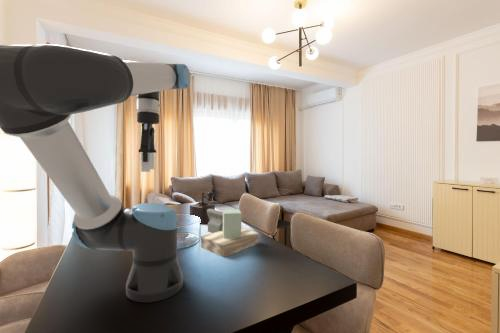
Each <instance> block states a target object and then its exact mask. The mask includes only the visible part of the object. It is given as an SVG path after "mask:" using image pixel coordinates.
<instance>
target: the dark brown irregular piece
mask: <svg viewBox="0 0 500 333" xmlns="http://www.w3.org/2000/svg"><path fill="white" fill-rule="evenodd" d="M200 196H201V201H199V202H197V203H195V204H191V205H189V216H190V215H195V216H198V217H200V219H201V224H200V225H208V222H209V217H208V214H207V210H208V209H214V210H216V208H215V207H216V205H215V204H213V203H212V204H211V203H208V202H212V201H213V198H214V196H215V193H214V192H213V191H208V192H207V193H206V195H205V192H204V191H203V192H201V195H200ZM204 198H205V199H206V201H208V202H206V201H204Z"/></svg>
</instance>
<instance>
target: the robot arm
mask: <svg viewBox="0 0 500 333" xmlns="http://www.w3.org/2000/svg"><path fill="white" fill-rule="evenodd" d="M189 69H190V68H189V67H188V66H187V65H186V64H185V63H161V62H160V63H159V62H148V61H135V60H127V59H125V60H124V59H122V58H120V57H119V56H117V55H116V54H111V53H104V52H100V51H93V50H87V49H83V48H79V47H71V46H67V45H60V44H51V43H42V44H41V43H40V44H0V129H1V131H2V132H3V133H4V134H6V135H9V136H13V137H17V138H19V139H21V141H22V143H23V144H24V145H25V146H26V148H27V149H28V151H29V152H30V153H31V154H32V156H33V157H34V159H35V160H36V161H37V163H38V164H39V165H40V167H41V168H42V169H43V171H44V172H45V173H46V175H47V177H48V178H49V179H50V180H51V182H52V183H53V184H54V186H55V187H56V189H57V190H58V192H59V193H60V194H61V195H62V197H63V198H64V199H65V201H66V202H67V203H68V204H69V207H70V208H71V209H72V210H73V211H74V215H73V220H72V225H71V229H73V231H72V232H71V234H72V237H73V239H74V241H75V242H76V243H77V245H79V246H81V247H82V248H84V249H89V250H94V251H102V250H103V251H123V252H132V265H131V268H130V271H129V274H128V276H127V280H126V283H125V296H126V297H127V299H129V300H131V301H133V302H136V303H153V302H154V303H155V302H159V301H163V300H166V299H169V298H171V297H173V296H174V295H176V294H178V293H179V292H180V291H181V290H182V288H183V285H184V275H183V272H182V269H181V266H180V263H179V260H178V226H179V224H178V223H179V222H178V214H177V211H176V210H175V208H173V206H169V205H167V204H162V203H157V202H156V203H154V202H153V203H152V202H151V203H150V202H143V203H138V204H135V205H133V206H132V208H131V207H129V208H126V207H124V205H123V203H122V201H121V199H120V198H119V197H117V196H116V195H112V194H110V193H109V190H108V189H107V187H106V185H105V184H104V182H103V180H102V178H101V176H100V175H99V173H98V171H97V170H96V168H95V166H94V165H93V162H92V161H91V159H90V157H89V156H88V154H87V152H86V150H85V149H84V146H83V145H82V143H81V141H80V139H79V138H78V135H77V134H76V132H75V131H74V128H73V127H72V126H71V124H70V122H69V121H70V118H71V117H72V115H74V114H79V113H80V114H81V113H85V112H91V111H94V110H97V109H98V110H99V109H101V108H106V107H110V106H114V105H117V104H122V103H124V102H126V101H127V100H129V99H130V97H133V96H136V110H137V111H138V112H136V122H137V123H139V124H141V133H140V134H141V136H140V147H139V149H138V153H140V156H141V157H140V166H141V169H140V170H141V171H140V172H141V173H142V172H143V173H144V172H145V173H146V172H147V173H148V172H149V173H150V172H151V170H155V154H156V153H157V150H156V148H155V132H156V131H155V127H154V126H153V125H158V124H159V123H160V114H159V112H160V108H161V106H162V104H161V103H160V92H161V91H162V92H163V91H169V90H183V89H184V90H186V89H188V88H190V85H191V73H190V70H189Z"/></svg>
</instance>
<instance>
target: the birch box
mask: <svg viewBox="0 0 500 333" xmlns="http://www.w3.org/2000/svg"><path fill="white" fill-rule="evenodd" d="M260 235H261V234H260V233H259V232H257V231H254V230H253V231H252V230H250V229H247V228H242V227H241V237H240V238H224V237H223V230H222V231H218V232H215V233H211V232H210V233H208V234H203V235H201V236H200V239H201V240H200V248H202V249H204V250H207V251H208V252H211V253H214V254H215V255H219V256H221V257H223V258H225V257H228V256H230V255H233V254H235V252H236V253H238V252H240V250H241V251H243V250H242V249H244V250H246V249H248V248H247V247H249V246H251V247H253V246H252V245H254V244H257V243H259V242H260ZM259 244H260V243H259ZM257 245H258V244H257ZM254 246H255V245H254ZM245 248H246V249H245ZM249 248H250V247H249Z"/></svg>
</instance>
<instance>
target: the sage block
mask: <svg viewBox="0 0 500 333" xmlns="http://www.w3.org/2000/svg"><path fill="white" fill-rule="evenodd" d="M222 212H223V237H224V238H240V237H241V228H242V212H241V210H240V209H239V208H237V209H223V210H222Z"/></svg>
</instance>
